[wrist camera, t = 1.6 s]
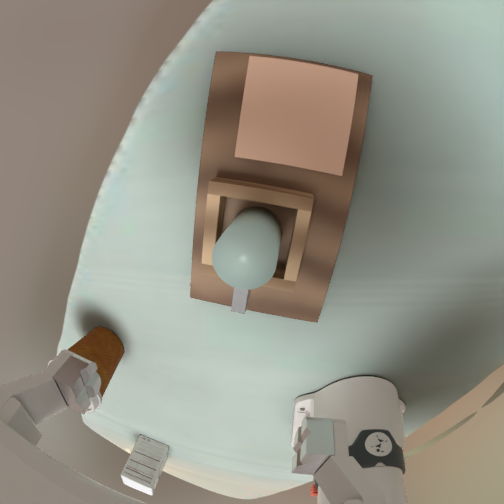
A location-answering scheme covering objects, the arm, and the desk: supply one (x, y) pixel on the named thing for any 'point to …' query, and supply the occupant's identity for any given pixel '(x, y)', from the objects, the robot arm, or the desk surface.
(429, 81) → the desk surface
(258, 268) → the pale blue rounded piece
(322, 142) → the terracotta coaster
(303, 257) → the walnut board
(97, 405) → the disposable coffee cup
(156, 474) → the supplement box
